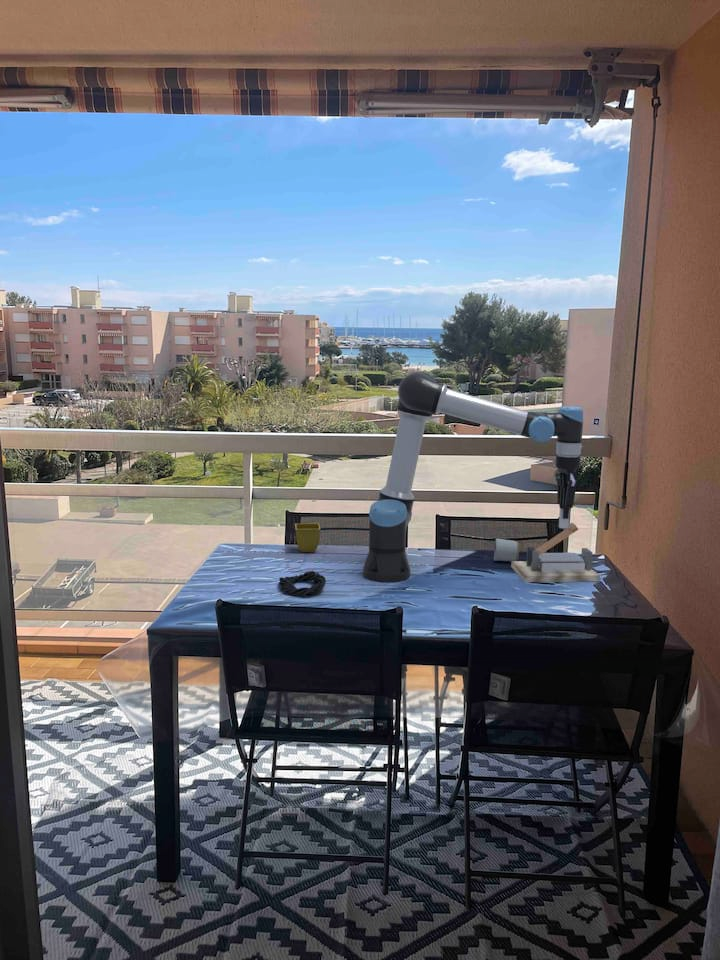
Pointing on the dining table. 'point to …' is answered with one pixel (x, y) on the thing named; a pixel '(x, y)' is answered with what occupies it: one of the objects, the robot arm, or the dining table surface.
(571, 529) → the strap
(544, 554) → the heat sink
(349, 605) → the dining table surface
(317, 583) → the cable
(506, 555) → the ceramic mug
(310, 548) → the flower pot
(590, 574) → the board
